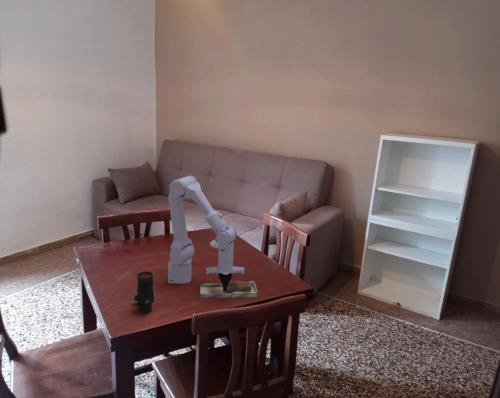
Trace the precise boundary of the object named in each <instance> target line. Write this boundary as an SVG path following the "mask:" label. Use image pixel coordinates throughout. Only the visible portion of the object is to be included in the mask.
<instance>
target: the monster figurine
mask: <svg viewBox="0 0 500 398" xmlns="http://www.w3.org/2000/svg"><path fill="white" fill-rule="evenodd" d="M209 245H210V247H211V248H213V249H216V250H219V247H218V242H217V240H216V237H215V239H213V240H212V241H210V242H209Z"/></svg>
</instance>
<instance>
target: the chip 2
mask: <svg viewBox="0 0 500 398" xmlns="http://www.w3.org/2000/svg"><path fill="white" fill-rule="evenodd" d="M239 285H240V292H251V283H250V281H249V280H247V281H245V280H244V282H239Z"/></svg>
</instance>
